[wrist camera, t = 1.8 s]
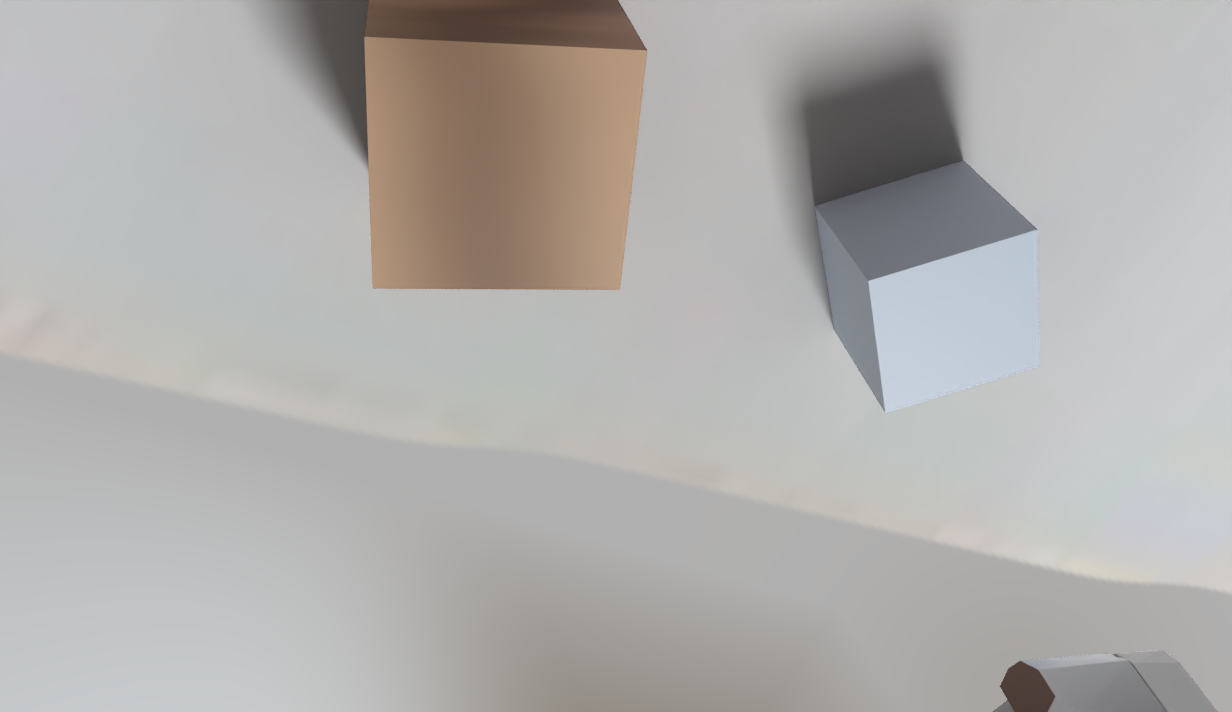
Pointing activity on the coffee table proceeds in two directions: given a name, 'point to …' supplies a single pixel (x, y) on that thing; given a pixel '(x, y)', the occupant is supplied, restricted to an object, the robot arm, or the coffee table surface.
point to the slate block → (931, 284)
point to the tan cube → (500, 142)
